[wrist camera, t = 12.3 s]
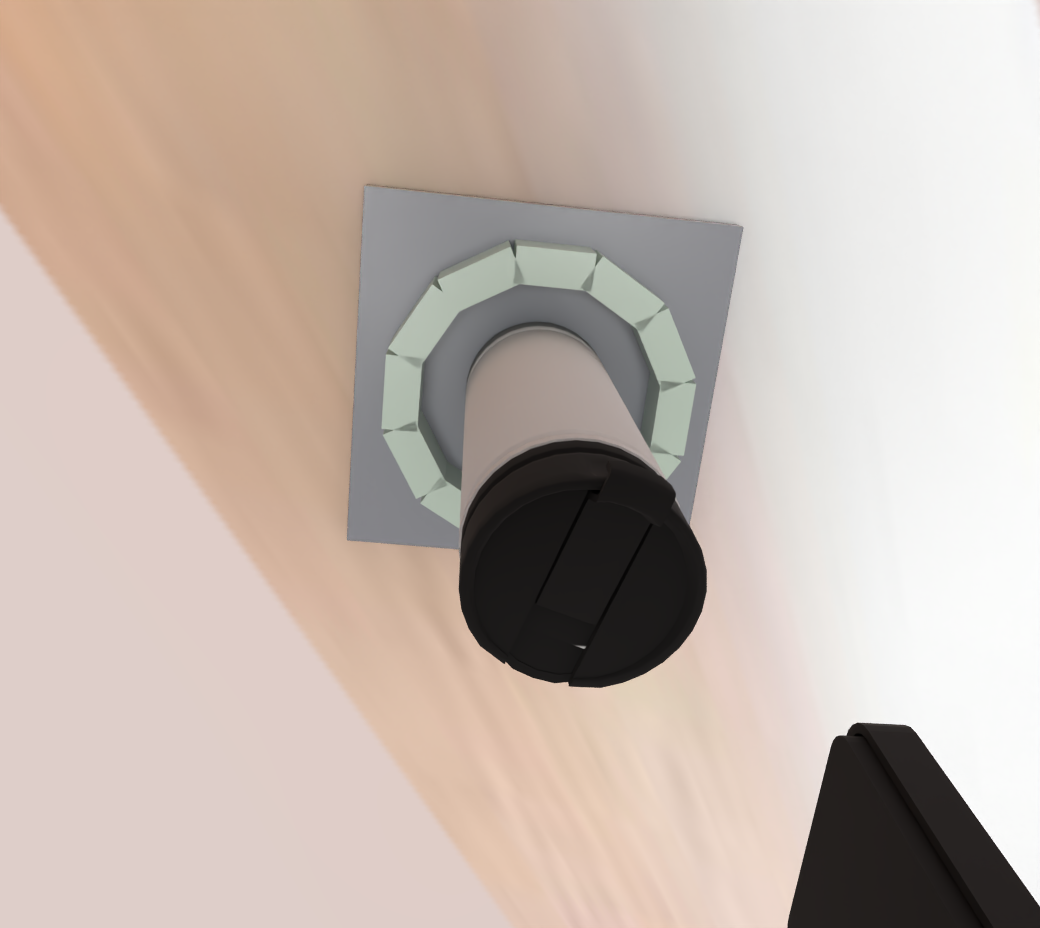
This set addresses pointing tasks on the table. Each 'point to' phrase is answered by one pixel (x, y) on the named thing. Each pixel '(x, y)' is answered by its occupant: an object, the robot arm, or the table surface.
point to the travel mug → (568, 519)
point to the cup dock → (512, 301)
